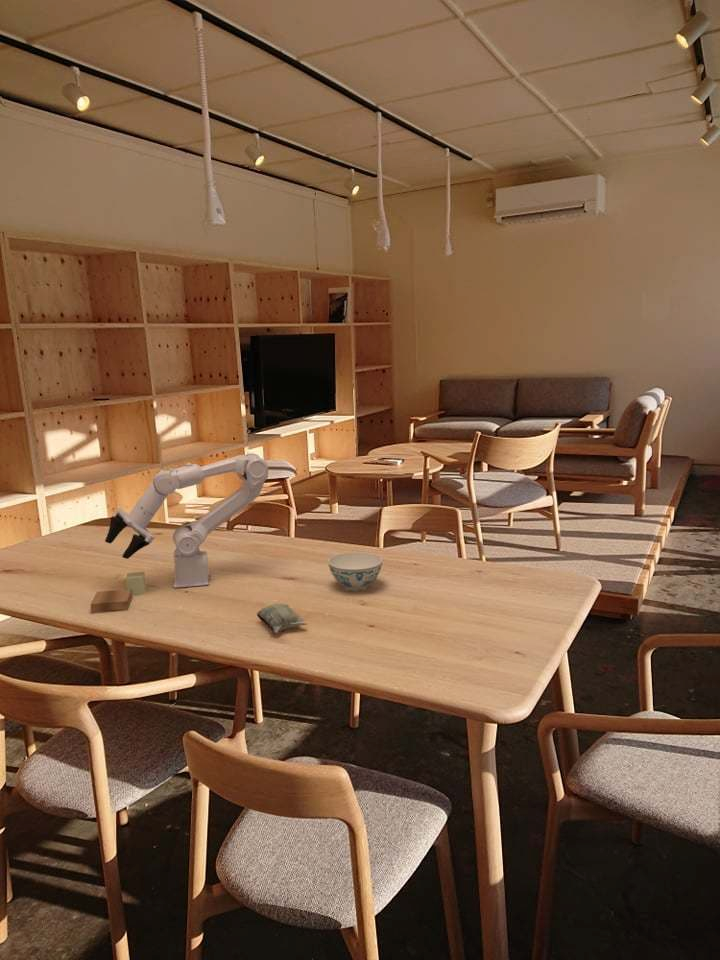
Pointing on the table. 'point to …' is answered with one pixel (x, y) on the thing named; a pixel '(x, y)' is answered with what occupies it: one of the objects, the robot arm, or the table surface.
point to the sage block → (136, 582)
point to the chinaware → (355, 569)
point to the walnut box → (111, 601)
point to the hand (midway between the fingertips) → (116, 550)
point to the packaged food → (280, 618)
